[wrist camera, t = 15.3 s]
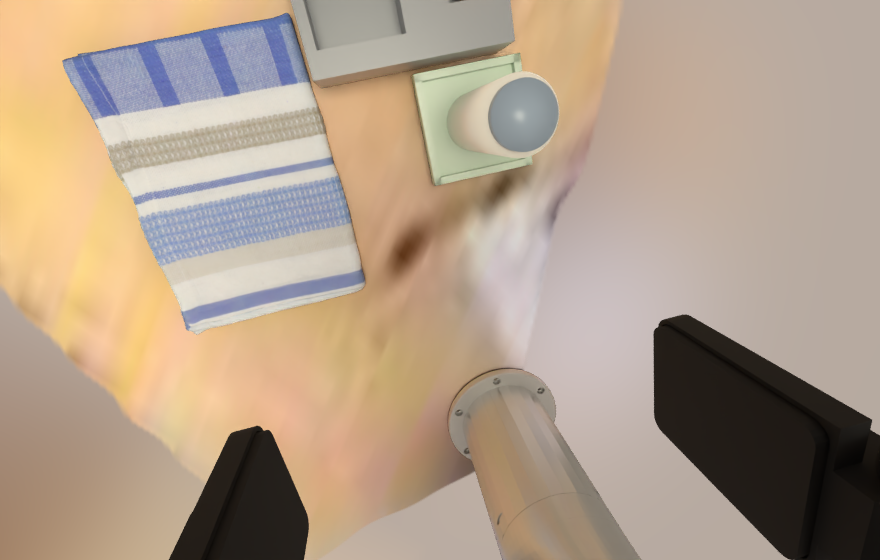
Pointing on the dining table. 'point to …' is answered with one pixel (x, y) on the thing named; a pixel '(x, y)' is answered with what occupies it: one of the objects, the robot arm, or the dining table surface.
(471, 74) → the tray
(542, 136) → the cylinder
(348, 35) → the housing
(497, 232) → the dining table surface
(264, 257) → the dish towel
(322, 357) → the dining table surface
